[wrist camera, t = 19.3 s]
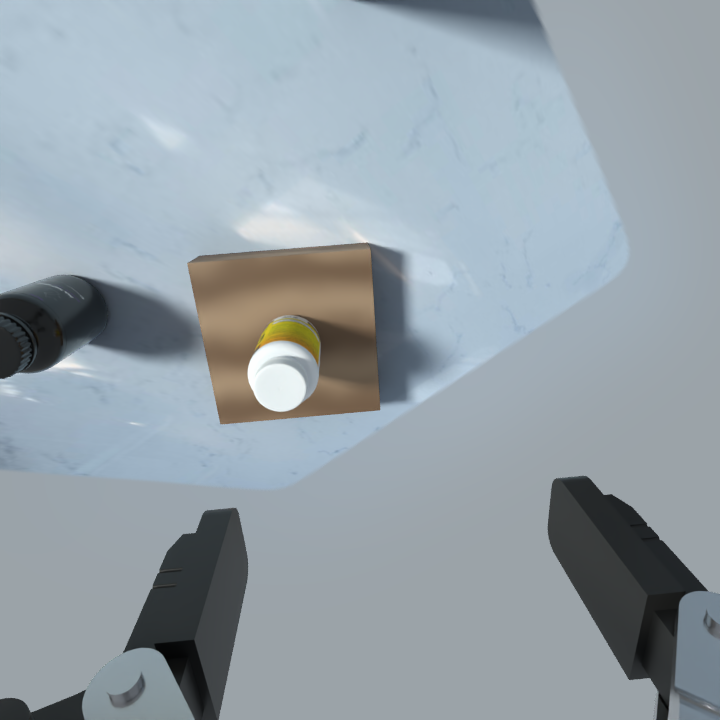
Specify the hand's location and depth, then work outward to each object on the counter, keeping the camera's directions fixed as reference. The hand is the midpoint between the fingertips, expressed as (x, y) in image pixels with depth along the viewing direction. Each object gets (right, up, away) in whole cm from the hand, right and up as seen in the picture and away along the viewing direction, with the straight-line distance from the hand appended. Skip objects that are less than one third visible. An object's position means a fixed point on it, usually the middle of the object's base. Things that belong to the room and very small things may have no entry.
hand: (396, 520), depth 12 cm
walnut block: (-8, +7, +36) cm, 37 cm away
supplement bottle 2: (-7, +6, +32) cm, 33 cm away
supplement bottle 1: (-29, +9, +34) cm, 45 cm away
